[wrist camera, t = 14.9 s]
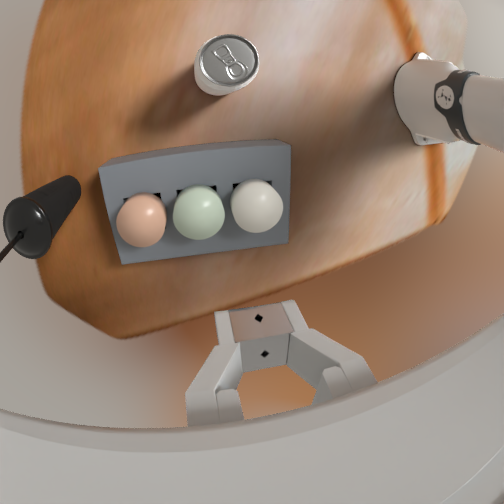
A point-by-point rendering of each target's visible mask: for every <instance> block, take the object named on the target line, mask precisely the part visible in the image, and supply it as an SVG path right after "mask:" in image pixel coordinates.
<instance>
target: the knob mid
mask: <svg viewBox="0 0 504 504" xmlns="http://www.w3.org/2000/svg"><path fill="white" fill-rule="evenodd" d="M224 218H225V212H224V208H223V205H222V201H221V198H220V196H219V194H218V193H217V192H216V191H215V190H214V189H213V188H211V187H209V186H206V185H202V184H196V185H191V186H189V187H186V188H185V189H183V190H182V191H181V192H180V193H179V195H178V196H177V198H176V201H175V205H174V211H173V221H174V225H175V227H176V229H177V230H178V231H179V232H180V233H181V234H182V235H183V236H185V237H187V238H190V239H194V240H202V239H207V238H209V237H211V236H213V235H215V234H216V233H217V232H218V231H219V230H220V229H221V227H222V225H223V223H224Z"/></svg>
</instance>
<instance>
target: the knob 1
mask: <svg viewBox="0 0 504 504" xmlns="http://www.w3.org/2000/svg"><path fill="white" fill-rule="evenodd" d="M166 220H167V210H166V207H165V205H164V203H163V202H162V200H161V199H160V198H159V197H157V196H156V195H154V194H151V193H147V192H140V193H136V194H134V195H132V196H130V197H129V198H128V199H127V200H126V202H125V203H124V205H123V206H122V208H121V210H120V211H119V213H118V215H117V219H116V226H117V230H118V232H119V234H120V236H121V237H122V239H123V240H124V241H126V242H127V243H128V244H130V245H132V246H136V247H148V246H151V245H153V244H155V243H157V242H158V241H159V240H160V239H161V237H162V236H163V233H164V230H165V225H166Z"/></svg>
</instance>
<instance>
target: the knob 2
mask: <svg viewBox="0 0 504 504" xmlns="http://www.w3.org/2000/svg"><path fill="white" fill-rule="evenodd" d="M230 207H231V210H232V213H233V216H234V219H235V221H236V223H237V224H238V225H239V226H240V227H241V228H242V229H244V230H245V231H248V232H252V233H260V232H264V231H267V230H269V229H271V228H272V227H274V226H275V225H276V224H277V222H278V221H279V220H280V218H281V215H282V212H283V202H282V199H281V197H280V195H279V194H278V193H277V192H276V191H275V189H274V188H273V187H272V186H271V185H270V184H269V183H267V182H266V181H264V180H261V179H249V180H246V181H243V182H242V183H240V184H239V185H238V186H237V187H236V188H235V189H234V190H233V192H232V194H231V197H230Z"/></svg>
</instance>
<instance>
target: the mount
mask: <svg viewBox="0 0 504 504" xmlns="http://www.w3.org/2000/svg"><path fill="white" fill-rule="evenodd" d="M98 170H99V175H100V180H101V185H102V190H103V195H104V199H105V204H106V208H107V212H108V216H109V220H110V224H111V228H112V232H113V236H114V239H115V243H116V246H117V250H118V253H119V256H120V260H121V263H122V264H130V263H138V262H145V261H153V260H161V259H168V258H176V257H184V256H192V255H199V254H207V253H215V252H223V251H231V250H239V249H247V248H255V247H263V246H271V245H279V244H287V243H288V238H289V212H290V177H291V145H289V144H287V143H285V142H282V141H280V140H278V139H268V140H246V141H231V142H219V143H208V144H199V145H190V146H182V147H174V148H167V149H161V150H154V151H148V152H142V153H137V154H132V155H126V156H121V157H116V158H112V159H110V160H109V161H107V162H106V163H105V164H103V165H102V166H101V167H99V168H98ZM249 179H261V180H264V181H266V182H267V183H269V184H270V185H271V186H272V187H273V188H274V189H275V191H276V192H277V193H278V194H279V195H280V197H281V199H282V202H283V212H282V215H281V218H280V220H279V221H278V222H277V224H276V225H275V226H274V227H272V228H271V229H269V230H267V231H264V232H260V233H252V232H248V231H245V230H244V229H242V228H241V227H240V226H239V225H238V224H237V223H236V221H235V219H234V216H233V213H232V210H231V207H230V197H231V194H232V192H233V184H234V183H242V182H243V181H246V180H249ZM196 184H202V185H206V186H214V190H215V191H216V192H217V193H218V194H219V196H220V198H221V201H222V205H223V208H224V212H225V218H224V223H223V225H222V227H221V229H220V230H219V231H218V232H217V233H216V234H215V235H213V236H211V237H209V238H207V239H202V240H194V239H190V238H187V237H185V236H183V235H182V234H181V233H180V232H179V231H178V230H177V229H176V227H175V225H174V221H173V211H174V205H175V201H176V198H177V196H178V195H179V193H180V190H181V189H185V188H186V187H189V186H191V185H196ZM140 192H147V193H151V194H153V193H160V194H161V200H162V202H163V203H164V205H165V207H166V210H167V220H166V225H165V230H164V233H163V236H162V237H161V239H160V240H159V241H158V242H157V243H155V244H153V245H151V246H148V247H136V246H132V245H130V244H128V243H127V242H126V241H124V240H123V239H122V237H121V236H120V234H119V232H118V230H117V226H116V219H117V215H118V213H119V211H120V210H121V208H122V206H123V205H124V203H125V202H126V200H127V199H128V198H129V197H130V196H132V195H134V194H136V193H140Z"/></svg>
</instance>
